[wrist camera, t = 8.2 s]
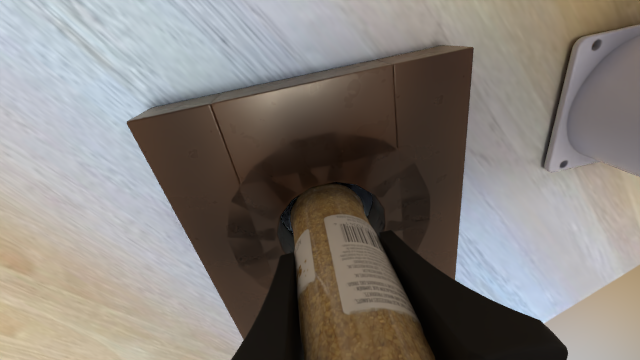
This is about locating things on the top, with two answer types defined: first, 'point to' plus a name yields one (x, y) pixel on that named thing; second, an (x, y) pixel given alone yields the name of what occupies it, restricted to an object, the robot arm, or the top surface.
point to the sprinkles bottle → (349, 284)
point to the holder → (314, 161)
